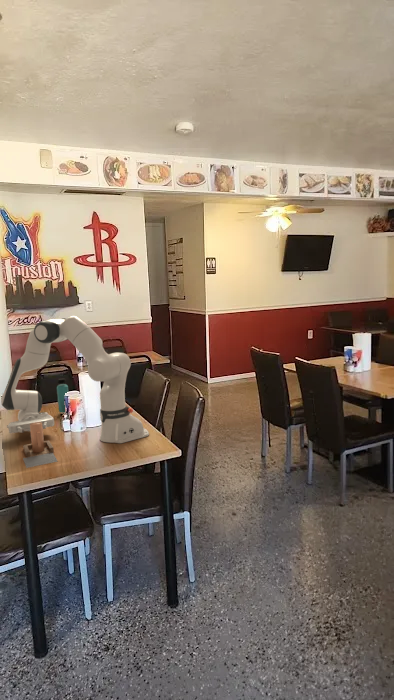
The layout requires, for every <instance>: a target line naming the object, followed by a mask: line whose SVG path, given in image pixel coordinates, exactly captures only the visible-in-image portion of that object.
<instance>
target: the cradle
mask: <svg viewBox="0 0 394 700" xmlns="http://www.w3.org/2000/svg"><path fill="white" fill-rule="evenodd" d="M22 448H23V452H24V453H25V458H27V457H32V456H37V455H42V454H47V453H52V452H53V453H55V451H54V446H53V444H52V442H51V441H50V440H44V449H45V450H44V451H42V452H38V453H34V452H32V443H29V444H24V445H23V447H22Z"/></svg>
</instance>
